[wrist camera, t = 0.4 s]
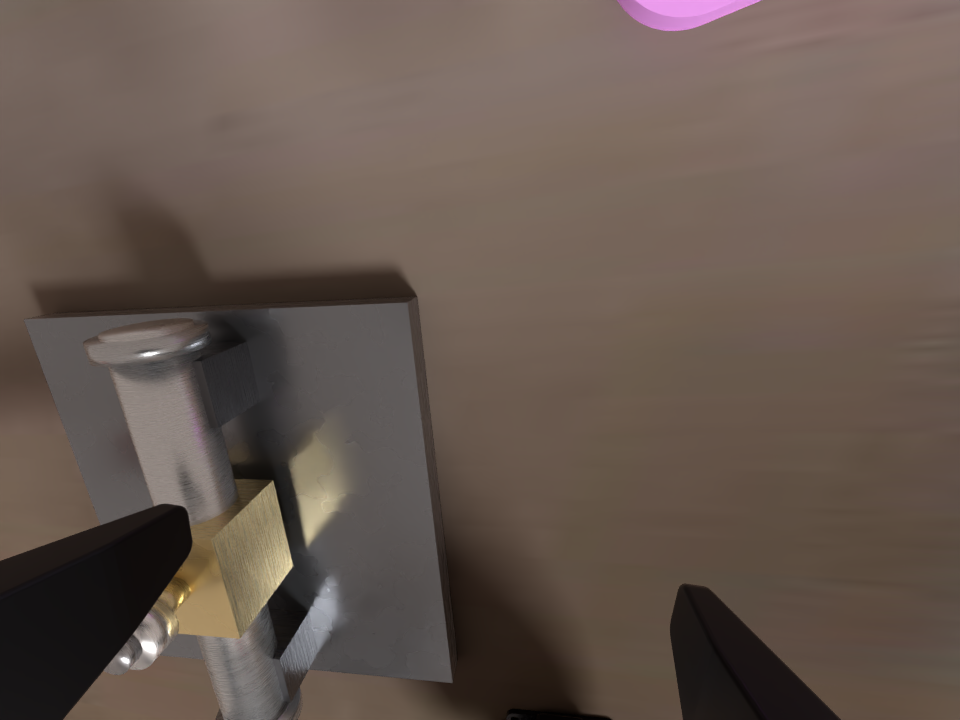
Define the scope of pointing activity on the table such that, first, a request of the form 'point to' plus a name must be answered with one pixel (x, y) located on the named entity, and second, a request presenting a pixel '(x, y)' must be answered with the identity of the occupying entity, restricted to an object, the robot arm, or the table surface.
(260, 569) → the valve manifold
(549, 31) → the table surface
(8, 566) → the robot arm
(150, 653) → the lever
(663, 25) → the bracket
